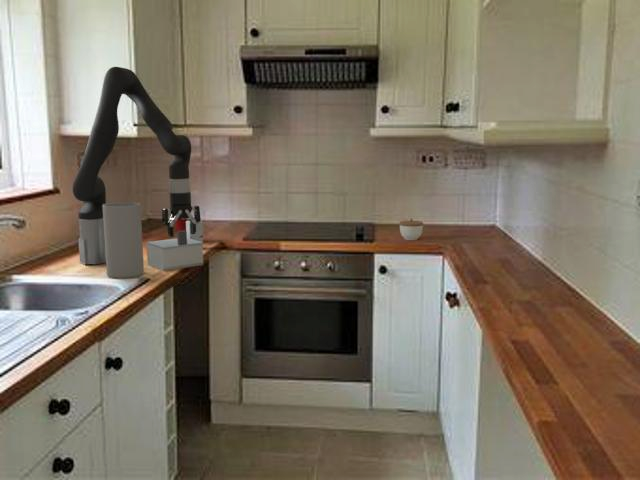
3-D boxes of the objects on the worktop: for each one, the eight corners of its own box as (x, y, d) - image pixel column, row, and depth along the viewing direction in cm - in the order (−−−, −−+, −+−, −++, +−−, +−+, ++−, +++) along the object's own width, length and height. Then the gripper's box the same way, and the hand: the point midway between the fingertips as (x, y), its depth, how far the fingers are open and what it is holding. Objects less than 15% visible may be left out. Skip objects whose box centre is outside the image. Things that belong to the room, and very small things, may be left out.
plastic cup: (199, 240, 295) (198, 214, 293) (197, 244, 284) (196, 217, 282) (175, 241, 294) (173, 214, 292) (172, 245, 283) (171, 218, 281)
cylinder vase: (147, 270, 233) (144, 202, 229) (139, 278, 221) (135, 206, 216) (113, 271, 233) (108, 202, 228) (102, 279, 221) (97, 206, 216)
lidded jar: (401, 236, 303) (401, 216, 301) (424, 237, 300) (424, 217, 298) (397, 240, 292) (397, 219, 291) (421, 241, 290) (421, 220, 288)
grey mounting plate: (163, 249, 231) (162, 233, 230) (146, 243, 242) (145, 228, 241) (203, 243, 241) (202, 229, 240) (185, 238, 252) (184, 224, 251)
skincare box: (190, 250, 271) (189, 222, 269) (186, 249, 274) (185, 220, 272) (204, 249, 274) (202, 220, 272) (199, 247, 278) (198, 219, 276)
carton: (163, 271, 233) (162, 249, 231) (147, 264, 243) (146, 243, 242) (203, 265, 242) (202, 244, 241) (186, 259, 253) (185, 239, 252)
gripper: (166, 193, 226) (169, 238, 228) (202, 190, 234) (204, 234, 237) (157, 191, 231) (159, 236, 234) (192, 189, 240) (195, 232, 243)
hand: (182, 235), depth 236 cm, fingers open, 8 cm apart
